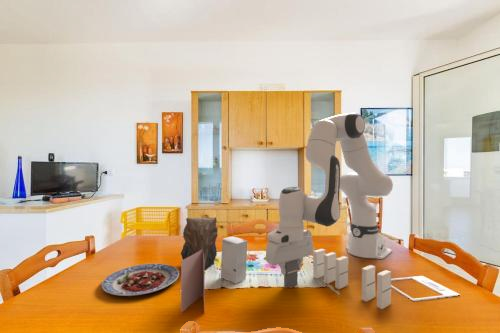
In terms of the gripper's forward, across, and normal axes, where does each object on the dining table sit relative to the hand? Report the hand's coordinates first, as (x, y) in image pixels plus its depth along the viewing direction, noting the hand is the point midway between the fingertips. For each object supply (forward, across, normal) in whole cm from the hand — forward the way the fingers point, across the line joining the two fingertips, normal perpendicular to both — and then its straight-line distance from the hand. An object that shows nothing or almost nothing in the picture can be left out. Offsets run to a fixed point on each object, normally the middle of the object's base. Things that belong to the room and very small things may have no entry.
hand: (290, 271), depth 93 cm
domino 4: (+5, -14, +11) cm, 18 cm away
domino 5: (+5, -14, +21) cm, 26 cm away
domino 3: (+5, -14, +6) cm, 16 cm away
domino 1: (+5, 0, 0) cm, 5 cm away
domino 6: (+5, -14, +26) cm, 30 cm away
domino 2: (+5, -14, +1) cm, 15 cm away
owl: (+5, +20, -34) cm, 40 cm away
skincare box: (+5, +14, -16) cm, 22 cm away
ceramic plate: (+5, +43, -32) cm, 54 cm away
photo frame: (+5, -35, +27) cm, 45 cm away
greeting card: (+5, +32, -6) cm, 33 cm away
